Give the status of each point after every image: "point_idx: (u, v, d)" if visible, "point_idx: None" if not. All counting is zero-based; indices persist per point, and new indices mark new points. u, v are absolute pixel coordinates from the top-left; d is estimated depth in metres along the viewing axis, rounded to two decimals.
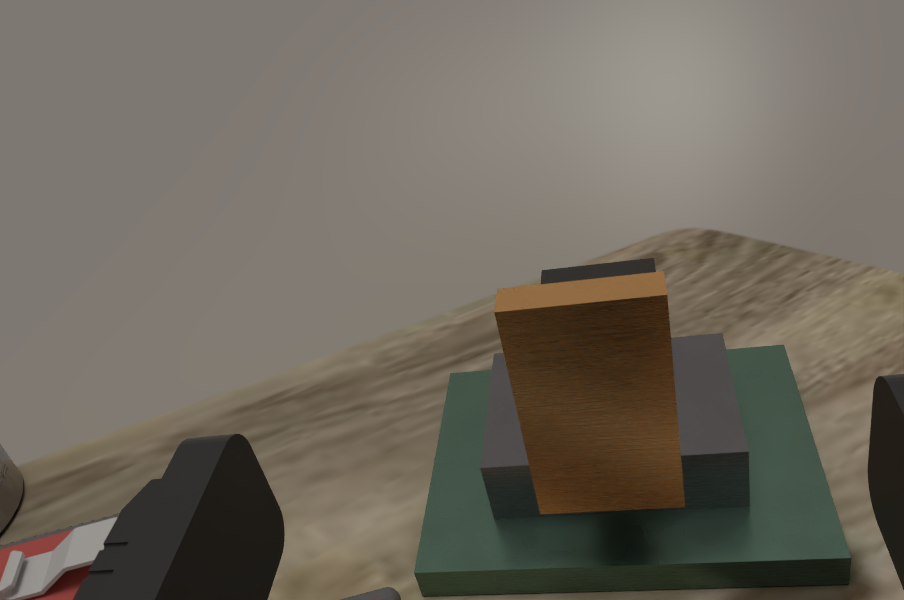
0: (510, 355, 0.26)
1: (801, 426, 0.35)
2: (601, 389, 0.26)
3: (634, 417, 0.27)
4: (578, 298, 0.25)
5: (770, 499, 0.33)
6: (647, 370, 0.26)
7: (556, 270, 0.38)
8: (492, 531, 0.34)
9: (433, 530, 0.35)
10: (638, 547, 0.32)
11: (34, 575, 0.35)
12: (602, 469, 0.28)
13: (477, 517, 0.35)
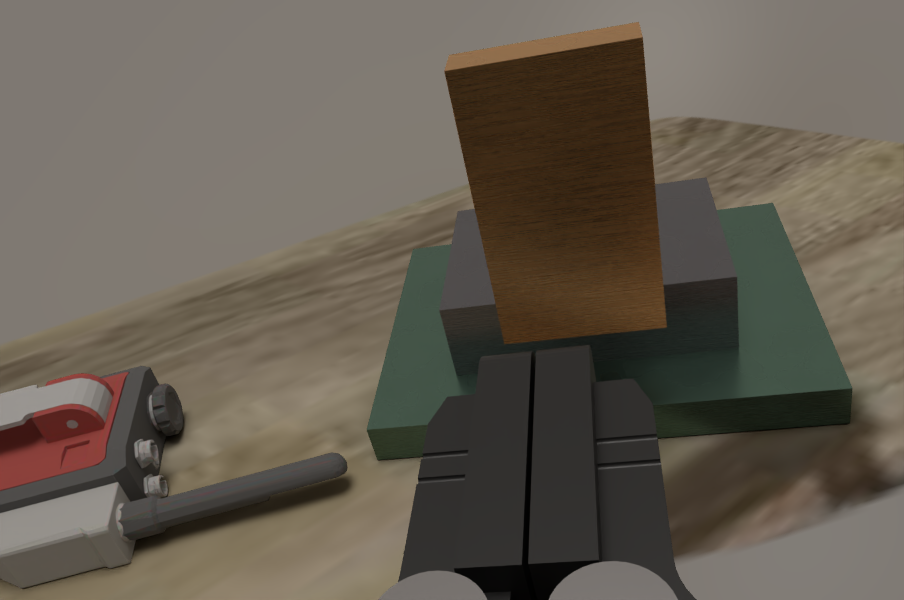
0: (464, 130, 0.23)
1: (793, 273, 0.32)
2: (569, 172, 0.23)
3: (607, 208, 0.24)
4: (541, 51, 0.21)
5: (761, 340, 0.29)
6: (621, 143, 0.22)
7: None
8: (455, 387, 0.31)
9: (389, 389, 0.31)
10: None
11: None
12: (573, 281, 0.25)
13: (438, 375, 0.31)
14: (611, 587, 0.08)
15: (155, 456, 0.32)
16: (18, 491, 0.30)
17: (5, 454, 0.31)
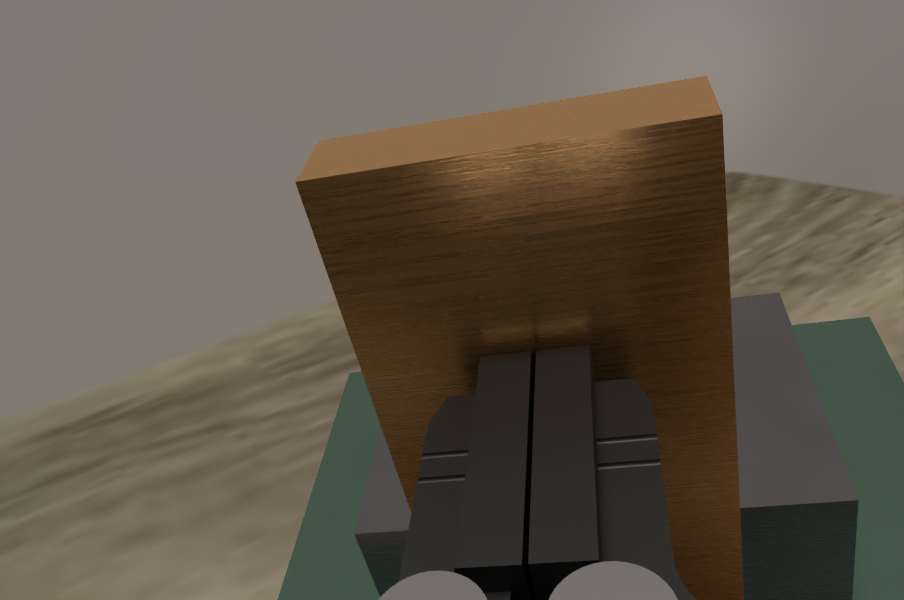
0: (349, 294, 0.11)
1: None
2: None
3: None
4: (499, 140, 0.10)
5: (889, 584, 0.18)
6: (670, 321, 0.11)
7: None
8: None
9: None
10: None
11: None
12: None
13: None
14: (611, 587, 0.08)
15: None
16: None
17: None
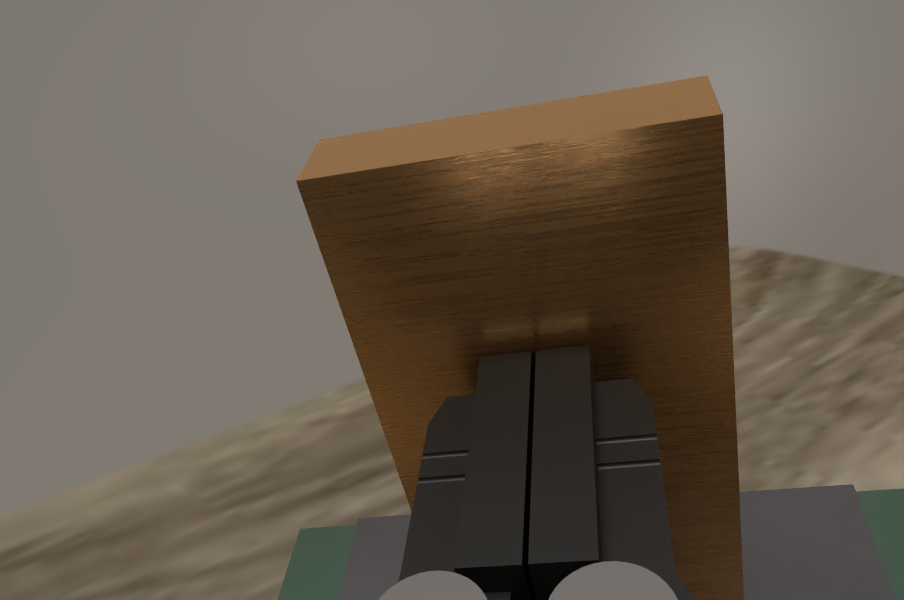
0: (349, 293, 0.11)
1: None
2: None
3: None
4: (500, 140, 0.10)
5: None
6: (670, 321, 0.11)
7: None
8: None
9: None
10: None
11: None
12: None
13: None
14: (611, 587, 0.08)
15: None
16: None
17: None
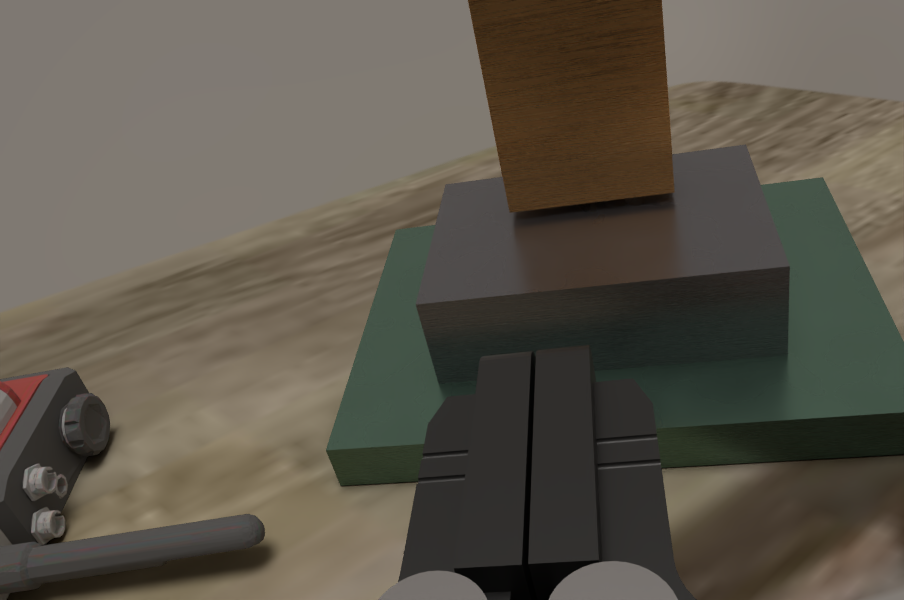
0: None
1: (853, 261, 0.26)
2: (576, 19, 0.23)
3: (615, 59, 0.23)
4: None
5: (816, 345, 0.24)
6: None
7: None
8: (435, 398, 0.25)
9: (357, 399, 0.26)
10: None
11: None
12: (579, 141, 0.25)
13: (416, 382, 0.26)
14: (611, 587, 0.08)
15: (53, 485, 0.26)
16: None
17: None
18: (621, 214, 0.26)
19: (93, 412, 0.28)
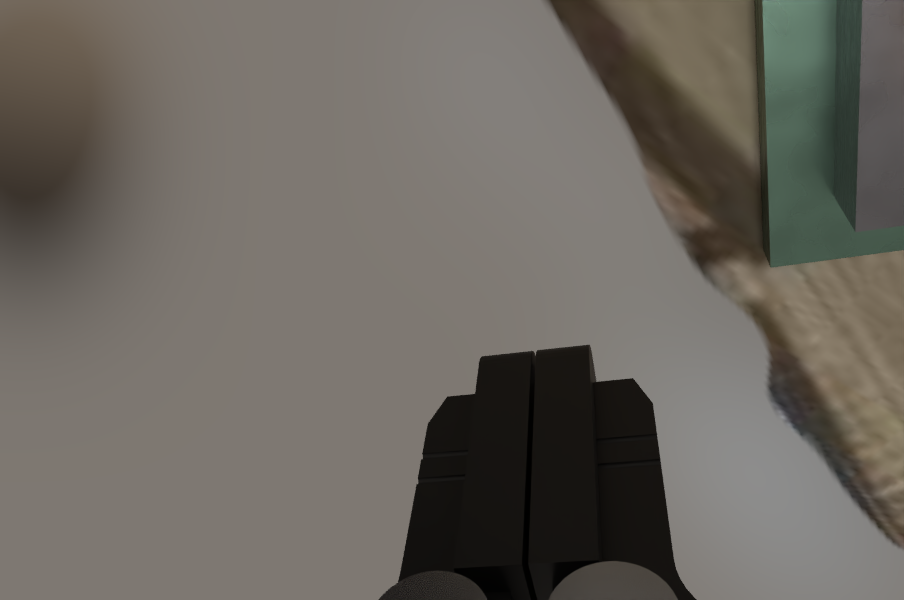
0: None
1: None
2: None
3: None
4: None
5: (841, 212, 0.34)
6: None
7: None
8: None
9: None
10: (787, 102, 0.32)
11: None
12: None
13: None
14: (611, 587, 0.08)
15: None
16: None
17: None
18: None
19: None
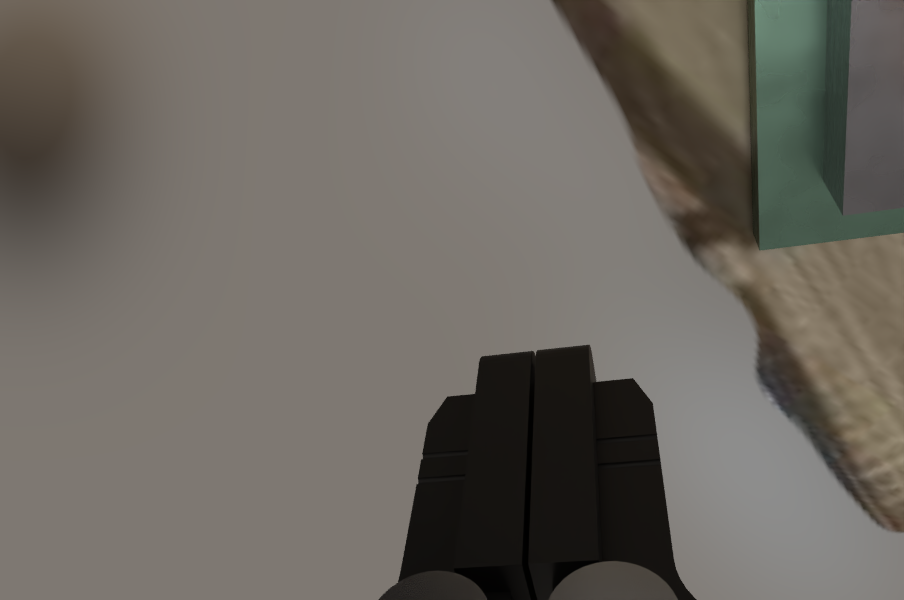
0: None
1: None
2: None
3: None
4: None
5: (830, 196, 0.35)
6: None
7: None
8: None
9: None
10: (778, 86, 0.33)
11: None
12: None
13: None
14: (611, 587, 0.08)
15: None
16: None
17: None
18: None
19: None
